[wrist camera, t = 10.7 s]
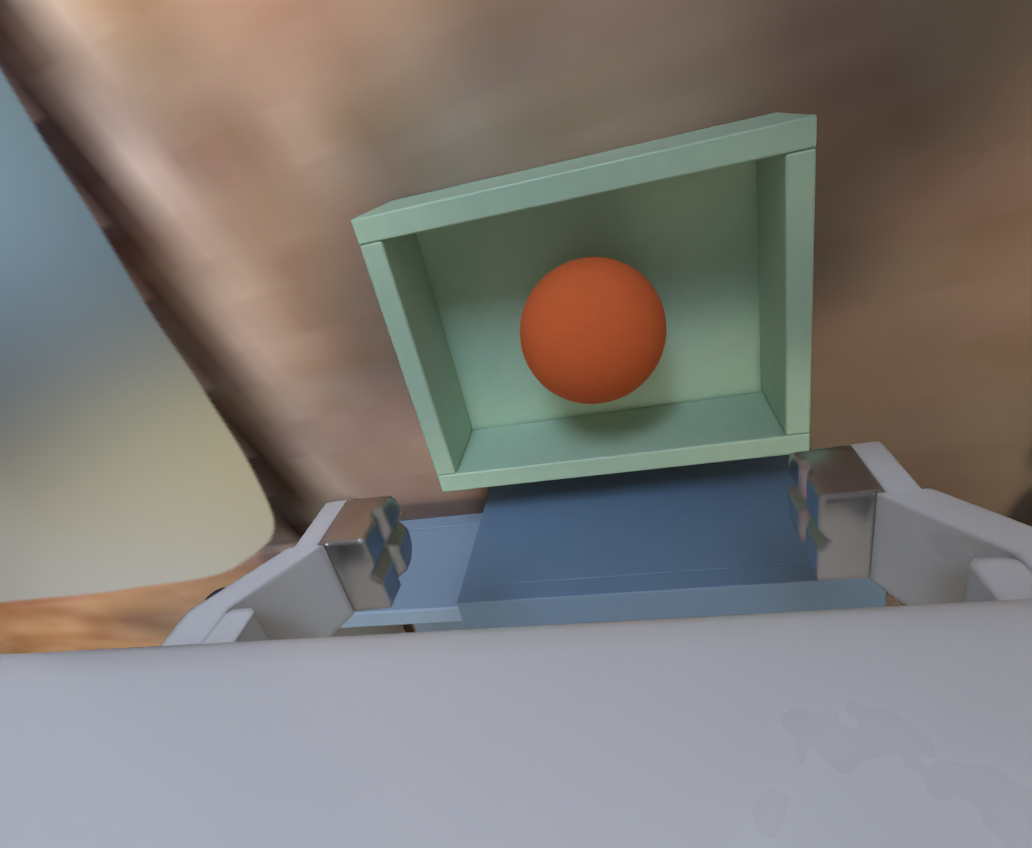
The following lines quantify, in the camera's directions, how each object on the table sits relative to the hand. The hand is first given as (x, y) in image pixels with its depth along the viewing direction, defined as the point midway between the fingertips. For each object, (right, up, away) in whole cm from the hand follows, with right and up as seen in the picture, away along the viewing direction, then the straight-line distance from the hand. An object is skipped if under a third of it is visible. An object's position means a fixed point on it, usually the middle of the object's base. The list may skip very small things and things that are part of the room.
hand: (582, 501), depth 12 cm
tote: (+2, +6, +11) cm, 12 cm away
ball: (+1, +5, +8) cm, 9 cm away
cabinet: (+5, -5, +16) cm, 18 cm away
